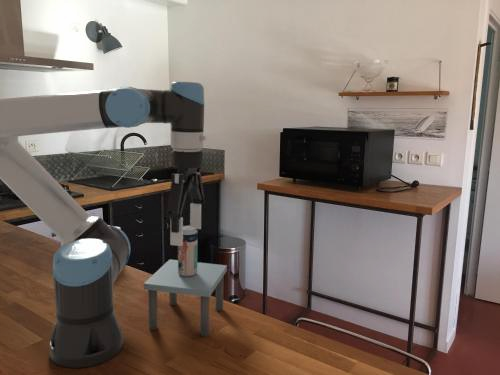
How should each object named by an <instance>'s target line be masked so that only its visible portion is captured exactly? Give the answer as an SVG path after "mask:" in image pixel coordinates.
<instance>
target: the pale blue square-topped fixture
mask: <svg viewBox="0 0 500 375" xmlns="http://www.w3.org/2000/svg"><path fill="white" fill-rule="evenodd" d="M227 271H228V265H227V264H226V265H225V264H219V263H218V264H216V263H209V262H208V263H207V262H198V261H197V273H196V274H195V275H193V276H190V277H184V276H181V275H180V274H178V259H168V261H166V262H165V263H164V264H163V265H162V266H161V267H160V268H158V270H156V272H154V273H153V274H152V275H151V276H150V277H149V278H148V279H147V280H146V281H144V282H143V290H147V291H148V292H147V293H148V294H147V295H148V297H147V298H148V328H149V329H148V330H150V331H154V330H155V331H156V330H157V329H158V292H163V293H169V294H168V297H169V299H168V302H169V304H168V305H169V306H175V305H177V304H178V295H177V294H180V295H189V296H197V297H200V319H199V320H200V329H199V330H200V337H202V338H207V337H209V335H210V296H211V295H212V294H213V293H214V291H215V311H216V312H223V310H224V283H225V282H224V278H225V277H224V276H225V275H226V273H227Z"/></svg>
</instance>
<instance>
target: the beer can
mask: <svg viewBox="0 0 500 375" xmlns="http://www.w3.org/2000/svg"><path fill="white" fill-rule="evenodd" d="M198 233H199V232H198V229H196V227H195V226H190V224H188V225H187V224H186V225H183V245H182V246H177V260H178V274H180V275H181V276H184V277H190V276H193V275H195V274H196V273H197V262H198Z"/></svg>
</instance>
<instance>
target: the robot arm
mask: <svg viewBox="0 0 500 375" xmlns="http://www.w3.org/2000/svg"><path fill="white" fill-rule="evenodd" d="M204 89H205V87H204V86H203V84H201V83H199V82H193V81H173V82H172V83H171V85H170V89H167V90H166V89H164V90H161V89H145V88H136V87H132V86H121V87H118V88H116V89H115V88H112V89H110V88H109V89H105V90H102V89H101V90H90V91H89V90H88V91H77V92H66V93H55V94H41V95H32V96H31V95H30V96H17V97H8V98H0V180H1V181H2V182H3V183H4V184H5V185H6V186H7V187H8V188H9V189H10V190H11V191H12V193H14V194H15V195H16V197H18V198H19V199H20V201H21V202H23V203H24V204H25V205H26V206H27V207H28V209H30V210H31V211H32V212H33V213H34V214H35V215H36V217H37V218H39V220H40V221H41V222H42V223H44V225H46V227H48V228H49V230H50V231H51V232H52V233H53V234H54V235H56V237H57V238H59V240H60V247H59V248H57V250H56V251H55V252H54V253H53V254H54V255H53V259H52V260H53V261H52V263H53V264H52V269H51V270H52V275H53V286H54V287H53V288H54V298H55V299H54V301H55V312H56V315H55V316H56V321H55V324H54V326H53V328H54V329H53V330H52V331H53V332H52V333H51V334H52V335H51V338H50V341H49V356H50V359H51V360H52V362H53V363H55V365H56V364H57V365H59V366H61V367H64V368H69V369H70V368H71V369H72V368H73V369H75V368H76V369H77V368H78V369H79V368H87V367H92V366H96V365H99V364H101V363H105V362H107V361H108V360H110V359H112V358H113V357H115V356H116V355H117V354H118V353H119V352H120V351H121V350H122V348H123V345H124V341H123V340H124V338H123V336H124V335H123V331H122V328H121V327H120V323H119V322H118V321H119V320H118V319H117V316H116V314H115V311H114V288H113V287H114V283H115V281H116V280H117V278H118V277H119V275H120V274H121V273H122V271H123V269H124V268H126V265H127V264H128V262H129V258H130V255H131V243H130V240H129V238H128V236H127V234H126V233H125V232H124V231H123V230H122V229H121V230H120V229H119V228H117V227H118V226H116V227H114V225H109V224H107V222H105V221H104V220H103V219H102V218H101V217H100V216H96V215H95V216H94V215H93V216H92V215H90V214H89V213H88V212H87V211H86V210H85V209H84V208H83V207H82V206H81V205H80V204H79V203H78V202H77V201H76V200H75V198H74V197H72V196H71V195H70V193H68V192H67V191H66V189H65V188H64V187H63V186H62V185H61V184H60V183H59V182H58V181H57V180H56V178H54V177H53V176H52V175H51V174H50V173H49V171H47V169H46V168H45V167H44V166H42V165H41V163H40V162H39V161H38V160H37V159H36V158H35V157H34V156H33V155H32V153H30V152H29V151H28V150H27V149H26V148H25V147H24V146H23V145H22V144H21V142H19V137H25V136H35V135H36V136H37V135H44V134H47V135H48V134H58V133H69V132H79V131H90V130H100V129H114V128H115V129H116V128H126V129H127V128H135V127H136V128H137V127H139V126H140V125H143V124H144V125H145V124H149V123H150V124H170V125H171V126H170V127H171V128H170V148H172V150H171V152H170V164H171V166H172V167H175V168H177V173H172V174H171V185H170V190H169V195H168V201H167V208H166V212H165V217H166V219H170V224H169V226H170V227H169V229H170V237H169V240H170V242H169V243H170V246H177V247H178V246H182V245H183V226H184V223H183V222H184V218H183V217H182V215H183V210H184V207H185V203H186V199H187V194H188V195H189V198H190V200H191V203H190V204H189V206H190V207H189V208H190V209H189V211H190V212H189V225H190V226H195V227H196V230H201V229H202V204H205V201H206V199H205V192H204V186H203V180H202V169H201V168H202V167H203V165H204V151H203V150H202V149H203V148H204V141H206V136H204V125H205V92H204V91H205V90H204Z"/></svg>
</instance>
